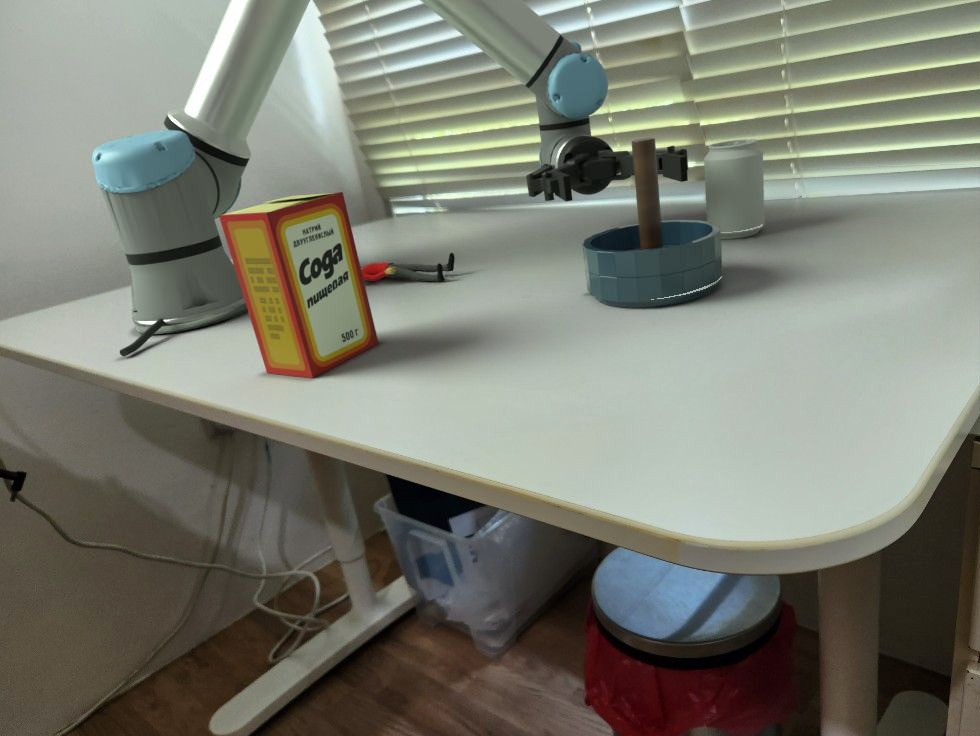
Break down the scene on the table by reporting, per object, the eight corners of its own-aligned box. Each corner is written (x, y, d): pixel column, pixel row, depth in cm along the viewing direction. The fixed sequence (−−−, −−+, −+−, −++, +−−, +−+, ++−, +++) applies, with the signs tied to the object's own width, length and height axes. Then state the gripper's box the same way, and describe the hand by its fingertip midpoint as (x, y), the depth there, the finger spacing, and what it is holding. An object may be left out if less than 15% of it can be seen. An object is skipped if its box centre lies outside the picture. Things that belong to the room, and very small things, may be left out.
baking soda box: (312, 378, 71) (265, 208, 65) (267, 373, 75) (217, 211, 68) (378, 343, 79) (341, 187, 72) (334, 340, 82) (295, 191, 76)
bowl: (725, 303, 75) (722, 243, 72) (581, 314, 78) (574, 258, 75) (720, 266, 88) (717, 214, 85) (596, 277, 91) (591, 228, 88)
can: (700, 233, 105) (695, 144, 100) (752, 224, 105) (750, 135, 101) (718, 243, 98) (713, 147, 94) (773, 233, 99) (771, 138, 94)
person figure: (434, 250, 98) (329, 254, 106) (435, 281, 98) (330, 282, 106) (456, 253, 102) (353, 256, 110) (456, 282, 103) (354, 283, 111)
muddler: (677, 286, 80) (667, 138, 74) (630, 290, 81) (616, 145, 75) (677, 274, 84) (668, 133, 78) (633, 278, 85) (620, 140, 79)
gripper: (671, 177, 106) (732, 194, 87) (499, 206, 104) (523, 230, 84) (667, 121, 103) (729, 126, 84) (490, 150, 101) (513, 162, 81)
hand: (626, 178), depth 84 cm, fingers open, 13 cm apart
